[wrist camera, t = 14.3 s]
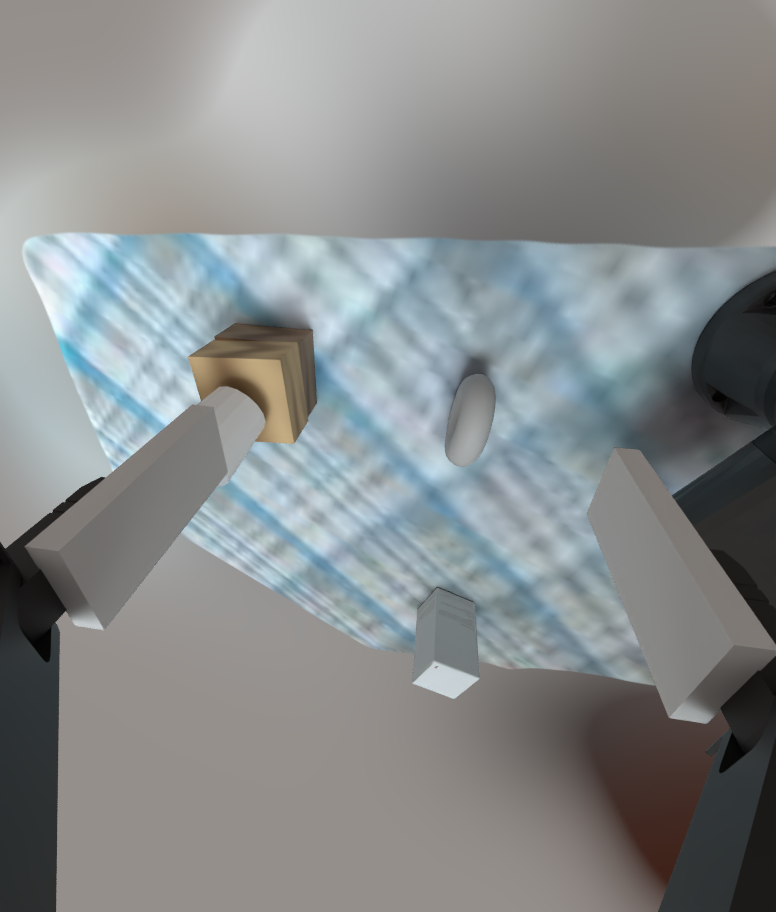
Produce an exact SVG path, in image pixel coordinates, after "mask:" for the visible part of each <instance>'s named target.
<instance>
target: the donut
mask: <svg viewBox="0 0 776 912" xmlns="http://www.w3.org/2000/svg"><path fill="white" fill-rule="evenodd" d="M495 402H496V395H495V387H494V385H493V383H492V382H491V380H490V379H489V378H488V377H487V376H485V375H483V374H474V375H470V376H468V377H467V378H465V379H464V380H463V381H462V383H461V384H460V386H459V388H458V391H457V393H456V396H455V399H454V402H453V405H452V408H451V412H450V416H449V420H448V425H447V431H446V438H445V453H446V456H447V458H448V459H449V461H450V462H451V463H453V464H454V465H456V466H459V467H465V466H469V465H470V464H472V463H473V462H475V461H476V460H477V459H478V457H479V456H480V454H481V453H482V451H483V449H484V447H485V445H486V442H487V439H488V436H489V433H490V430H491V426H492V422H493V417H494V411H495Z"/></svg>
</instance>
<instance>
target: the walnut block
mask: <svg viewBox="0 0 776 912" xmlns="http://www.w3.org/2000/svg"><path fill="white" fill-rule="evenodd" d="M215 340H235V341H270V342H297V343H298V350H299V357H300V365H301V372H302V379H303V386H304V393H305V400H306V408H307V415H308V416H309V415H310V413H311V412H312V410H313V408H314V407H315V405H316V404H317V398H316V380H315V363H314V346H313V330H305V329H293V328H282V327H270V326H259V325H247V324H236V323H235V324H233V325H232V326H230V327H229V328H227V329H226V330H224V331H222V332H221V333H219V334H218V335H216V336H215Z"/></svg>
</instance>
